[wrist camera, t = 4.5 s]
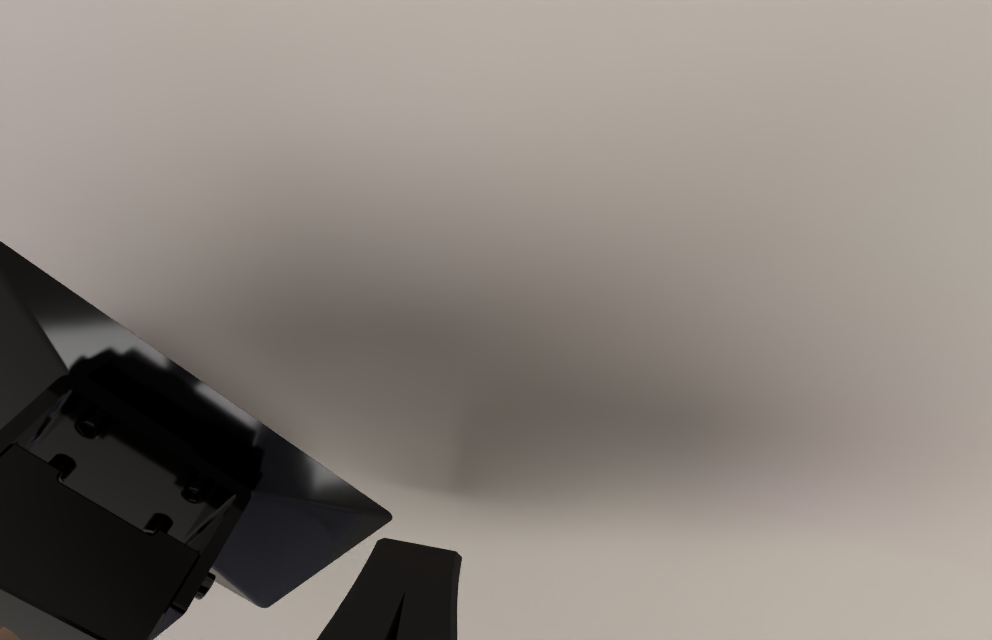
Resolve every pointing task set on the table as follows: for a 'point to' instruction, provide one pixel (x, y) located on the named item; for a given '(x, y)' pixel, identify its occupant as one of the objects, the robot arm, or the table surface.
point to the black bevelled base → (140, 480)
